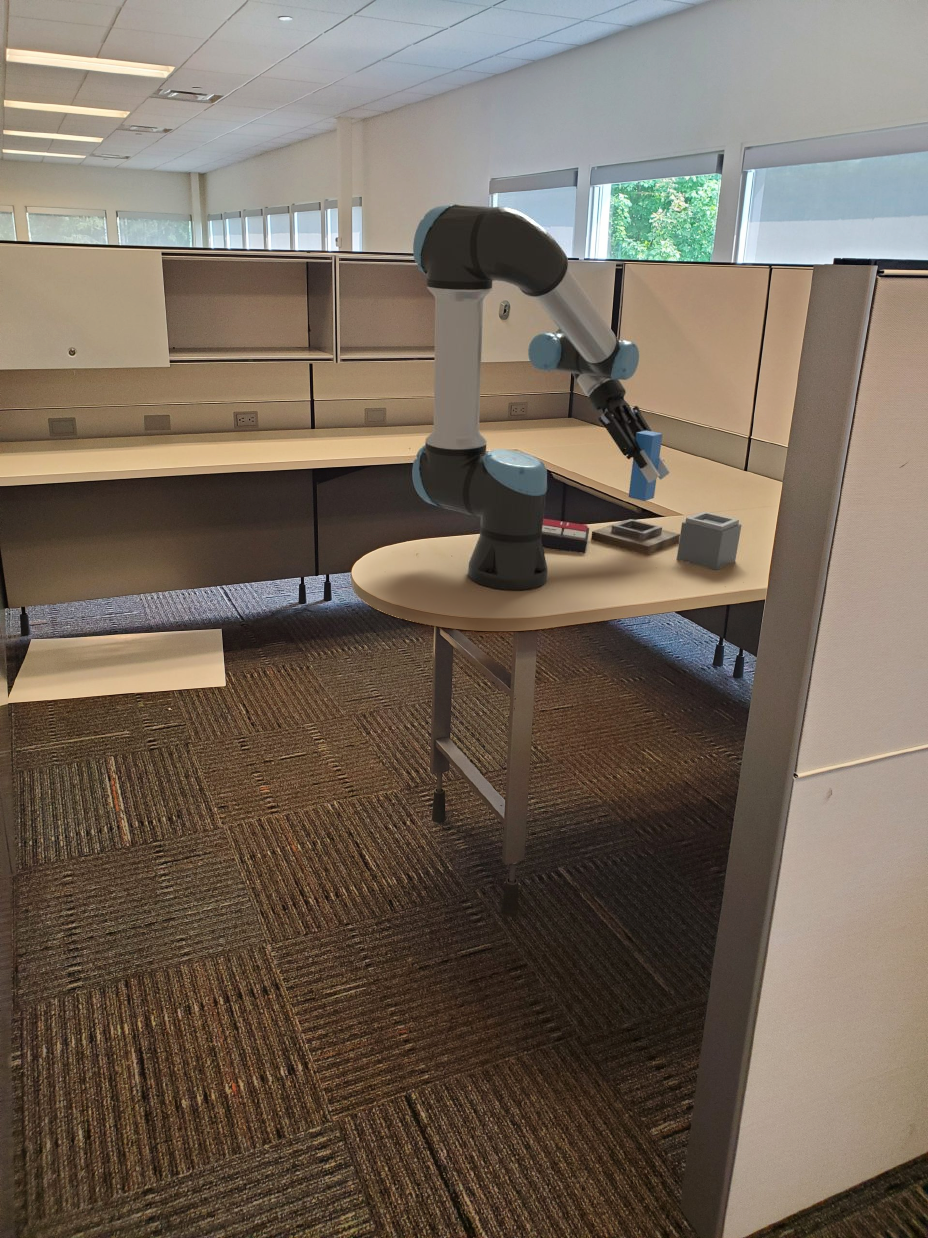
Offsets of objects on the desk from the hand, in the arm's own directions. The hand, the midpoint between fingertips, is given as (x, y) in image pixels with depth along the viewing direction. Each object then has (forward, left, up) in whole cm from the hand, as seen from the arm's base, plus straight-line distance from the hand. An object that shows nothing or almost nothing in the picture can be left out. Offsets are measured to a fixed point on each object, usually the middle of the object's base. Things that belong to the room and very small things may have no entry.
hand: (659, 477), depth 199 cm
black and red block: (-22, +2, -16) cm, 27 cm away
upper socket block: (+8, -10, -15) cm, 20 cm away
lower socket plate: (-3, +3, -15) cm, 16 cm away
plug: (-2, +3, -5) cm, 6 cm away
